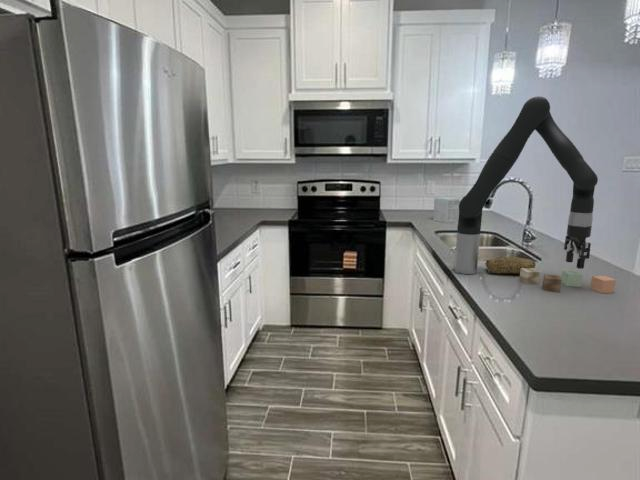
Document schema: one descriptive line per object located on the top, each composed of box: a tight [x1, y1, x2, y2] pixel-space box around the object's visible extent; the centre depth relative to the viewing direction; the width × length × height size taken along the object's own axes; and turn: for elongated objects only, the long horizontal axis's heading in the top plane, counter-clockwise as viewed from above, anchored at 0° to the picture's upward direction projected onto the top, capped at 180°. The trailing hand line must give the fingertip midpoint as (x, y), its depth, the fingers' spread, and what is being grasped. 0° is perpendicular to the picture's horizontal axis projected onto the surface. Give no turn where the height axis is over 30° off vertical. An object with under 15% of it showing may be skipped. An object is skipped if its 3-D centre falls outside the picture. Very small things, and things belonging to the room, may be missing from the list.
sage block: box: [560, 269, 584, 288], centre depth 149 cm, size 5×5×5 cm
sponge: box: [485, 256, 537, 275], centre depth 165 cm, size 13×8×20 cm
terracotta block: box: [589, 275, 616, 294], centre depth 143 cm, size 5×5×5 cm
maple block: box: [519, 268, 541, 285], centre depth 153 cm, size 5×5×5 cm
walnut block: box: [542, 274, 562, 293], centre depth 144 cm, size 5×5×5 cm
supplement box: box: [432, 196, 461, 224], centre depth 286 cm, size 13×13×18 cm
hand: (574, 265), depth 148 cm, fingers open, 8 cm apart
